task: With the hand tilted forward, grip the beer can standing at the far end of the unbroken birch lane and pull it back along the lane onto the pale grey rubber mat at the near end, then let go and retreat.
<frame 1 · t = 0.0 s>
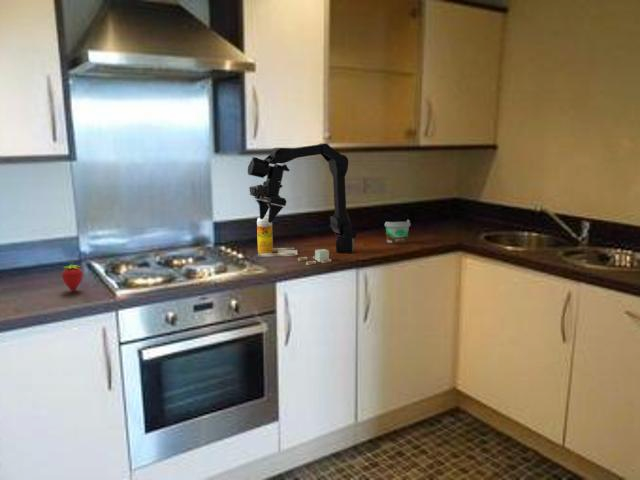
hand: (265, 220, 211), 15 cm above the worktop, tool pointing down, fingers open, 9 cm apart
food container: (399, 244, 244), on the worktop
broken lane: (314, 261, 212), on the worktop
strawberry: (74, 291, 174), on the worktop
beer can: (265, 254, 226), on the worktop
lane: (276, 253, 226), on the worktop
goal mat: (287, 253, 226), on the worktop
sage cube: (322, 260, 213), on the worktop
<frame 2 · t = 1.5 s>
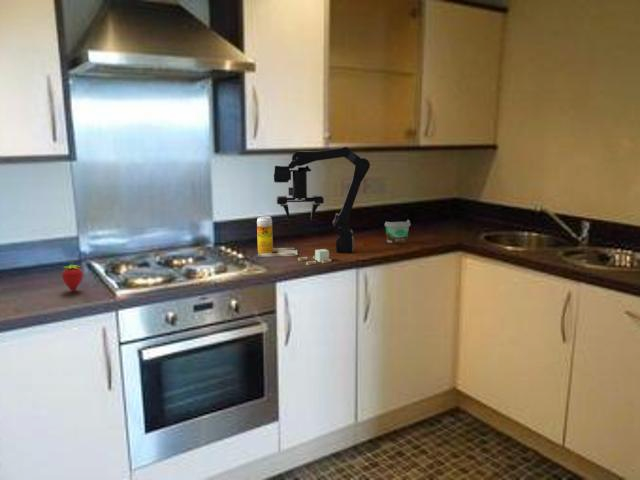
hand: (300, 220, 227), 13 cm above the worktop, tool pointing down, fingers open, 9 cm apart
nothing on the worktop moved.
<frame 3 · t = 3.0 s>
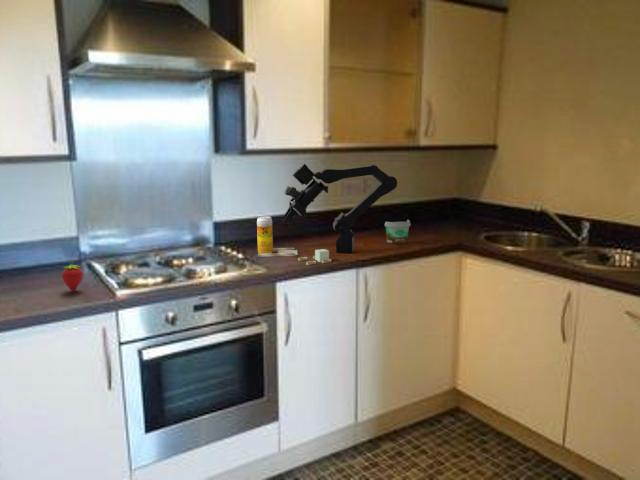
hand: (283, 220, 224), 13 cm above the worktop, tool tilted 45°, fingers open, 9 cm apart
nothing on the worktop moved.
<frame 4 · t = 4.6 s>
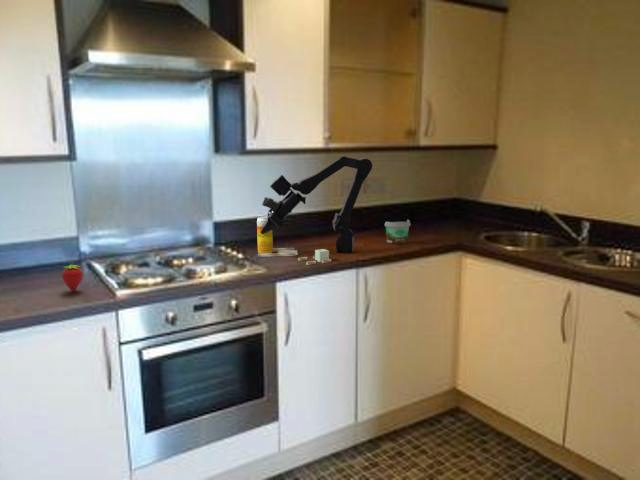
hand: (261, 231, 224), 9 cm above the worktop, tool tilted 45°, fingers closed on beer can, 6 cm apart
beer can: (265, 254, 226), on the worktop, touching gripper
everything else where it was.
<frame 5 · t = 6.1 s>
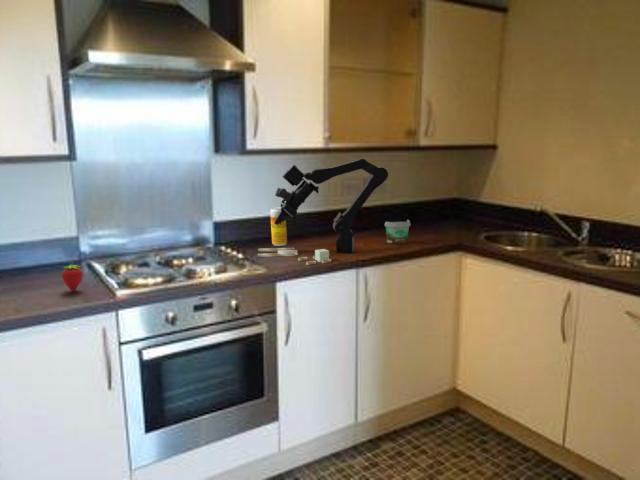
hand: (275, 222, 224), 13 cm above the worktop, tool tilted 45°, fingers closed on beer can, 6 cm apart
beer can: (279, 245, 226), point 3 cm above the worktop, touching gripper
everything else where it was.
when the fingers open (10 cm above the worktop, at t = 7.5 s): beer can stays where it is, resting on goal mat.
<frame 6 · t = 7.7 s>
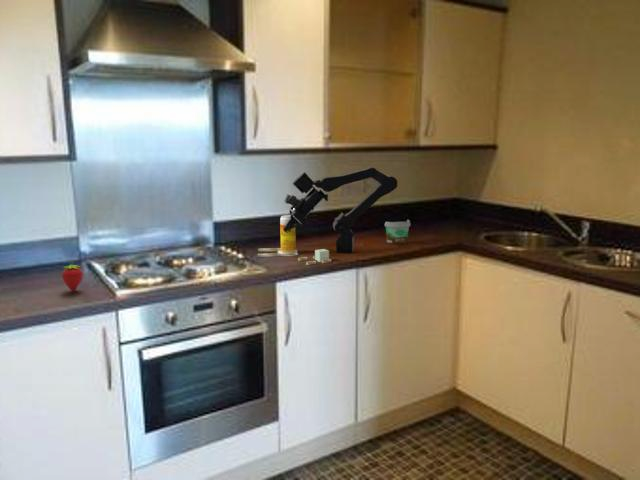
hand: (283, 229, 224), 10 cm above the worktop, tool tilted 45°, fingers open, 7 cm apart
beer can: (288, 252, 227), resting on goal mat
everything else where it was.
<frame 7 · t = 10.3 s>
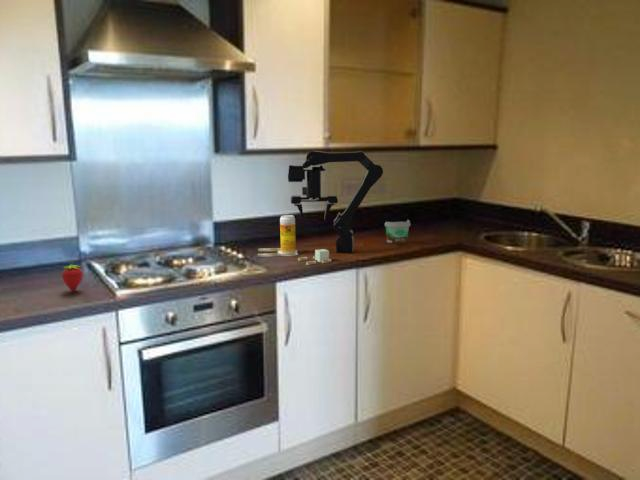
hand: (314, 220, 227), 13 cm above the worktop, tool pointing down, fingers open, 9 cm apart
nothing on the worktop moved.
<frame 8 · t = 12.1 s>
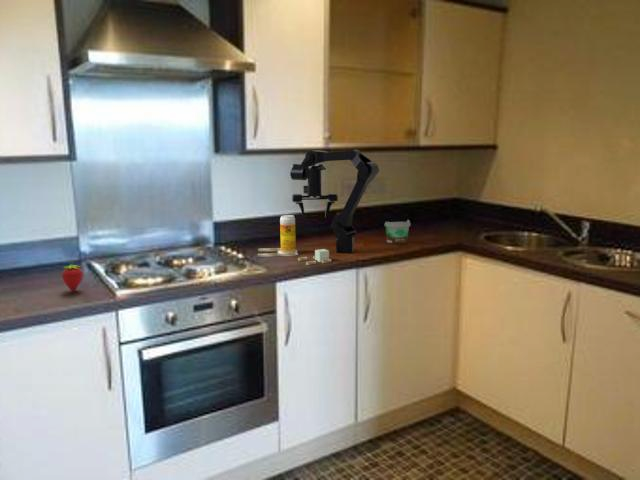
hand: (314, 217, 233), 13 cm above the worktop, tool pointing down, fingers open, 9 cm apart
nothing on the worktop moved.
at the end: beer can inside the target area on the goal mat (0.4 cm from its centre), point 0.1 cm above the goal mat's base; beer can tilted 0°; the gripper is holding nothing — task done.
